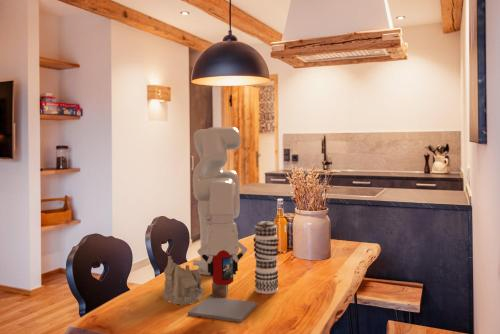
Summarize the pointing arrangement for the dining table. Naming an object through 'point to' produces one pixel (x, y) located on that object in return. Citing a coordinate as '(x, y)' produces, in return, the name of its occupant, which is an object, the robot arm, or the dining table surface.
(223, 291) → the walnut block
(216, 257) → the beverage can
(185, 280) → the ceramic cottage
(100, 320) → the dining table surface
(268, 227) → the decorative candle
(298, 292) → the dining table surface
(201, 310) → the slate board
